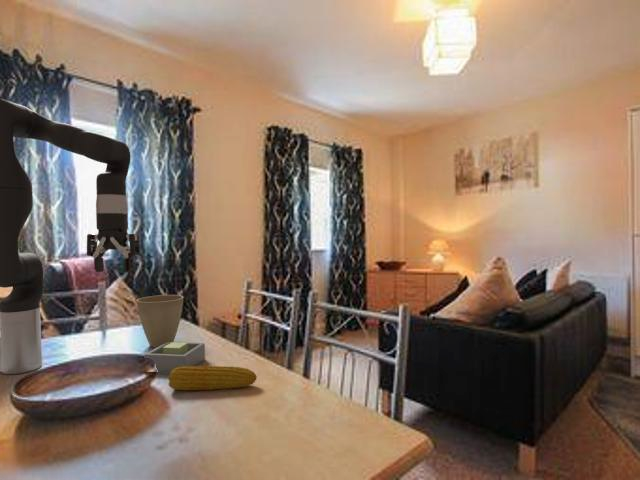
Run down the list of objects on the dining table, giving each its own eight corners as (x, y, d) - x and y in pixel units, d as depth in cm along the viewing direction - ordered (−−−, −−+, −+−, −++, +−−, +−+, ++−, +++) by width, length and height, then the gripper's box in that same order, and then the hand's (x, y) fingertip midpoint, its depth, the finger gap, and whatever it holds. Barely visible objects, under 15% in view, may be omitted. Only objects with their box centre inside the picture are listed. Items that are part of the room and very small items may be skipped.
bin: (144, 372, 109) (144, 354, 109) (168, 357, 121) (167, 341, 120) (185, 374, 107) (184, 356, 107) (204, 359, 119) (204, 343, 118)
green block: (163, 364, 112) (162, 347, 111) (172, 358, 116) (172, 342, 116) (179, 365, 111) (179, 348, 111) (188, 359, 116) (187, 342, 116)
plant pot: (193, 341, 137) (192, 296, 137) (155, 353, 125) (154, 303, 124) (166, 335, 145) (165, 293, 145) (128, 346, 133) (127, 299, 132)
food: (167, 395, 94) (166, 371, 94) (173, 386, 99) (173, 363, 99) (256, 390, 96) (255, 366, 96) (257, 381, 101) (257, 359, 101)
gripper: (78, 212, 104) (80, 273, 104) (127, 211, 101) (128, 273, 102) (98, 213, 111) (100, 270, 112) (144, 212, 109) (146, 270, 109)
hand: (113, 271), depth 107 cm, fingers open, 8 cm apart
